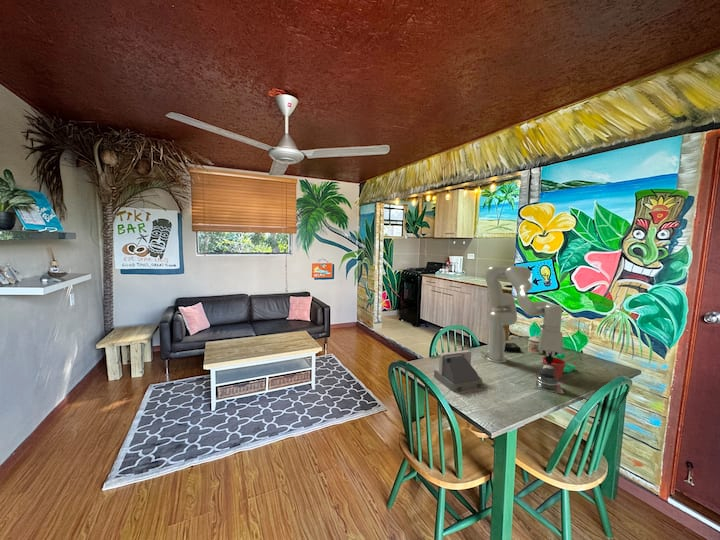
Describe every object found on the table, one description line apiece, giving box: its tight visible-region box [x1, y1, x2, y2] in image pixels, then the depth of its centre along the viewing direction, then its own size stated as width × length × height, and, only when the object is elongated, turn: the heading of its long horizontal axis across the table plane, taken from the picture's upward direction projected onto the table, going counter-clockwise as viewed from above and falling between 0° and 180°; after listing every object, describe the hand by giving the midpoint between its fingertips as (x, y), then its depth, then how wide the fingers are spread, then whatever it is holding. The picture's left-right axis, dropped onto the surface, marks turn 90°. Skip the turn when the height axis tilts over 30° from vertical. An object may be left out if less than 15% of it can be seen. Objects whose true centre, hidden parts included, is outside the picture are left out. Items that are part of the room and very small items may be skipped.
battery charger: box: [504, 342, 522, 353], centre depth 206 cm, size 13×10×4 cm
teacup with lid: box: [527, 335, 543, 355], centre depth 202 cm, size 12×9×12 cm
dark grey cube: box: [540, 364, 555, 378], centre depth 153 cm, size 6×6×6 cm
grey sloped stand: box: [433, 349, 483, 392], centre depth 157 cm, size 21×21×15 cm
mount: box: [554, 352, 576, 374], centre depth 175 cm, size 12×8×10 cm, turn 117°
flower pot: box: [542, 356, 566, 381], centre depth 165 cm, size 11×11×10 cm
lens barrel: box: [531, 370, 565, 395], centre depth 154 cm, size 13×11×6 cm
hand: (549, 363), depth 153 cm, fingers closed
